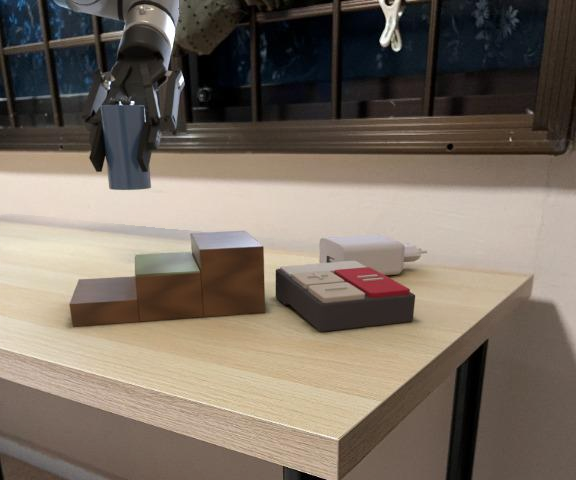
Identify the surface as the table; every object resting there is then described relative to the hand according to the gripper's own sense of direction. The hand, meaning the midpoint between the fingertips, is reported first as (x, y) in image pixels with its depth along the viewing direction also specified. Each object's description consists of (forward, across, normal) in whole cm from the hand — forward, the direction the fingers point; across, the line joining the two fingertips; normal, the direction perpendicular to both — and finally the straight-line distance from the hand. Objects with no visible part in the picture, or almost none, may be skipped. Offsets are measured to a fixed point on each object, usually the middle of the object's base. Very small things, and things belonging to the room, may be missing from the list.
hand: (118, 164), depth 84 cm
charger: (+8, +36, +13) cm, 40 cm away
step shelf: (+23, +11, -2) cm, 26 cm away
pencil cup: (0, 0, +5) cm, 5 cm away
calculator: (+23, +32, -2) cm, 39 cm away
